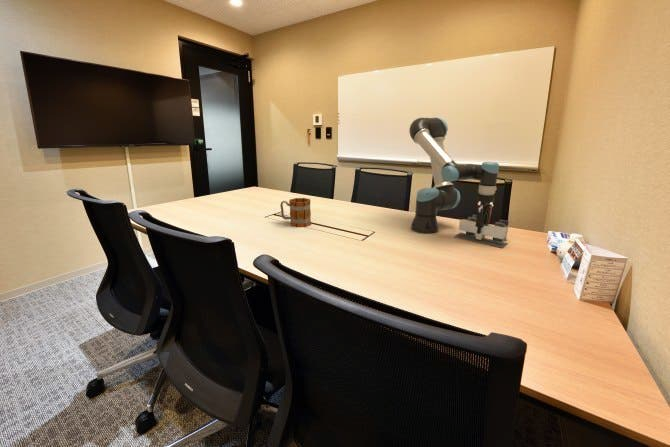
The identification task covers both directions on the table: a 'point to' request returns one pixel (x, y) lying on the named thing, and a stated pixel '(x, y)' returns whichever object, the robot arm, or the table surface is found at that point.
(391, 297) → the table surface
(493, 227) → the rail
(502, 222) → the post
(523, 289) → the table surface
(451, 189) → the robot arm
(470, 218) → the post
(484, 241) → the gray base plate
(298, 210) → the mug
